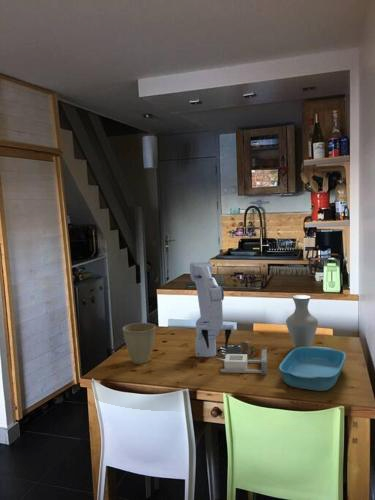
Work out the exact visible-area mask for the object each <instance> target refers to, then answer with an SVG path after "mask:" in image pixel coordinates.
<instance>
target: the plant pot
mask: <svg viewBox="0 0 375 500" xmlns="http://www.w3.org/2000/svg"><path fill="white" fill-rule="evenodd" d="M156 328H157V327H156V324H155V323H154V324H153V323H150V322H149V323H148V322H136V323H134V322H133V323H129V324H126V325H124V326H123V327H122V334H123V337H124V342H125V345H126V348H127V352H128V354H129V357H130V359H131V361H132V363H133V364H136V365H137V364H138V365H139V364H140V365H142V364H146V363H148V362H149V360H150V358H151V354H152V352H153V351H152V350H153V348H154V347H153V346H154V343H155V336H156V335H155V333H156Z"/></svg>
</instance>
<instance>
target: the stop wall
mask: <svg viewBox="0 0 375 500" xmlns="http://www.w3.org/2000/svg"><path fill="white" fill-rule="evenodd" d="M267 353H268V350H267V349H266V348H264V349H261V359H260V360H261V363H260V364H261V370H262V373H261V375H262V376H266V375H268V373H267V372H268V354H267Z"/></svg>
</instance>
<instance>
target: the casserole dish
mask: <svg viewBox="0 0 375 500" xmlns="http://www.w3.org/2000/svg"><path fill="white" fill-rule="evenodd" d="M346 357H347V354H346V352H344V351H342V350H340V349H339V350H338V349H333V348H331V347H326V346H325V347H324V346H314V345H313V346H310V347H298V348H295V347H294V348H293V349H292V350H290V352H289V353H288V354H287V355H286V356H285V357H284V358H283V360H282V361H281V362H280V364H279V366H278V367H279V372H280V375H281V378H282V380H283V381H284V383H285V384H286V385H288V386H289V387H292V388H297V389H302V390H310V391H318V392H325V391H328V390H330V389H332V387H334V386H335V384H336V383H337V381H338V379H339V377H340V375H341V372H342V371H343V367H344V366H345V365H344V364H345V361H346Z"/></svg>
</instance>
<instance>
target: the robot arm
mask: <svg viewBox="0 0 375 500" xmlns="http://www.w3.org/2000/svg"><path fill="white" fill-rule="evenodd" d="M189 274H190V275H189V276H190V279H191V281H192V282H194V283H195V288H196V294H197V299H198V300H197V301H198V309H199V314H200V317H199V318H198V319H197V320H196V322H195V334H196V336H197V337H195V342H194V345H195V346H194V349H195V350H194V351H195V357H203V358H204V357H205V358H210V357H215V356H216V355H217V344H216V343H217V341H216V340H217V338H218V336H219V334H220V331H224V337H225V338H224V340H225V343H224V345H225V346H224V348H225V349H227V348H228V343H229V339H230V336H231V334H232V332H233V331H235V330H234V325H235V324H224V317H223V301H224V299H225V293H224V292H225V291H224V289H223V287H222V286H220V285H218V282H217V280H216V279H215V277H212V274H213V264H212V262H211V261H210V260H208V261H200V262H191V263H189Z"/></svg>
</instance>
